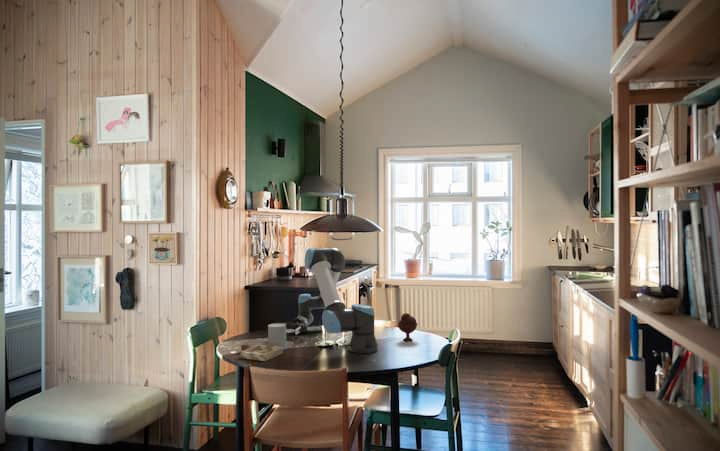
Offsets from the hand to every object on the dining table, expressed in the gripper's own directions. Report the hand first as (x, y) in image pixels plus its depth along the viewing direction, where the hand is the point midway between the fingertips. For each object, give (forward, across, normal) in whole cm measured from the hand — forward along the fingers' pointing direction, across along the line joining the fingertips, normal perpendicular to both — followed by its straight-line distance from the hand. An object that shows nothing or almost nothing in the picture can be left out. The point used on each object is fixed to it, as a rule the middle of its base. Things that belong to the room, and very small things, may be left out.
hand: (284, 331), depth 267 cm
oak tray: (+25, +2, -7) cm, 26 cm away
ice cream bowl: (-20, -65, -7) cm, 69 cm away
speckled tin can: (+10, 0, -7) cm, 12 cm away
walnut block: (+20, +13, -7) cm, 24 cm away
